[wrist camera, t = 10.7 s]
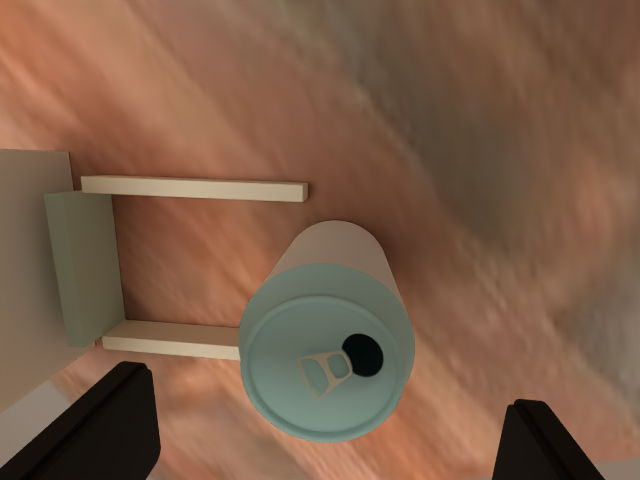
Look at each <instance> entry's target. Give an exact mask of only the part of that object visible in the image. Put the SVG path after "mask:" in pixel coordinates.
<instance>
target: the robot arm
mask: <svg viewBox="0 0 640 480" xmlns="http://www.w3.org/2000/svg"><path fill="white" fill-rule="evenodd" d="M160 450H161V445H160V436H159V428H158V420H157V411H156V403H155V395H154V386H153V378H152V372H151V370H149V369H147V366H146V365H145V364H144V363H138V362H128V361H123V362H120V363H119V364H117V365H116V366H115V367H114V368H113V369H112V370H111V371H109V372H108V373H107V374H106V375H105V376H104V377H103V378H102V379H100V380H99V381H98V382H97V383H96V384H95V385H94V386H93V387H91V388H90V389H89V390H88V391H87V392H86V393H85V394H84V395H82V396H81V397H80V398H79V399H78V400H77V401H76V402H75V403H73V404H72V405H71V406H70V407H69V408H68V409H67V410H66V411H64V412H63V413H62V414H61V415H60V416H59V417H58V418H57V419H55V420H54V421H53V422H52V423H51V424H50V425H49V426H48V427H46V428H45V429H44V430H43V431H42V432H41V433H40V434H38V435H37V436H36V437H35V438H34V439H33V440H32V441H31V442H30V443H28V444H27V445H26V446H25V447H24V448H23V449H22V450H20V451H19V452H18V453H17V454H16V455H15V456H14V457H13V458H11V459H10V460H9V461H8V462H7V463H6V464H5V465H3V466H2V467H1V468H0V480H146V478H147V477H148V475H149V474H150V472H151V470H152V469H153V467H154V466H155V464H156V462H157V461H158V458H159V455H160ZM492 480H605V479H604V478H603V477H602V475H601V474H600V473H599V472H598V470H597V469H596V467H595V466H594V465H593V464H592V462H591V461H590V460H589V458H588V457H587V456H586V454H585V453H584V452H583V450H582V449H581V448H580V447H579V445H578V444H577V443H576V441H575V440H574V439H573V437H572V436H571V435H570V433H569V432H568V431H567V430H566V428H565V427H564V426H563V424H562V423H561V422H560V420H559V419H558V418H557V416H556V415H555V414H554V413H553V411H552V410H551V409H550V407H549V406H548V405H547V404H546V403H545V402H543V401H536V400H526V399H517V400H516V401H515V402H514V405H512V404H511V405H509V406H508V407H507V411H506V415H505V420H504V425H503V430H502V434H501V439H500V444H499V448H498V453H497V458H496V462H495V467H494V472H493V477H492Z"/></svg>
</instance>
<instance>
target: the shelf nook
mask: <svg viewBox="0 0 640 480" xmlns="http://www.w3.org/2000/svg"><path fill="white" fill-rule="evenodd" d="M80 177H81V185H82V190H78V191H74V188H73V181H72V174H71V166H70V159H69V152H65V151H41V150H17V149H0V414H1V413H2V412H3V411H5V410H6V409H8V408H9V407H11V406H12V405H13V404H15V403H16V402H17V401H19V400H20V399H21V398H23V397H24V396H26V395H27V394H29V393H30V392H31V391H33V390H34V389H35V388H37V387H38V386H40V385H41V384H43V383H44V382H45V381H47V380H48V379H50V378H51V377H52V376H54V375H55V374H57V373H58V372H59V371H61V370H62V369H64V368H65V367H66V366H68V365H69V364H71V363H72V362H73V361H75V360H76V359H78V358H79V357H80V356H82V355H83V354H85V353H86V352H87V351H89V350H90V349H92V348H93V347H94V346H95V340H97V339H98V338H100V337H101V336H102V342H103V349H112V350H124V351H136V352H148V353H160V354H172V355H184V356H196V357H208V358H220V359H232V360H240V356H239V349H238V335H239V328H231V327H217V326H204V325H191V324H178V323H164V322H151V321H138V320H125V312H124V303H123V294H122V285H121V276H120V268H119V259H118V250H117V241H116V232H115V223H114V215H113V206H112V197H111V194H126V195H150V196H173V197H196V198H219V199H242V200H265V201H289V202H303V201H304V200H306V199H307V198H308V183H302V182H275V181H249V180H223V179H197V178H171V177H145V176H119V175H101V176H80Z"/></svg>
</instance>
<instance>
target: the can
mask: <svg viewBox="0 0 640 480" xmlns="http://www.w3.org/2000/svg"><path fill="white" fill-rule="evenodd" d="M238 349H239V356H240V360H241V364H240V365H241V376H242V381H243V385H244V388H245V390H246V393H247V395H248V397H249V399H250V400H251V402H252V404H253V405H254V406H255V408H256V409H257V410H258V411H259V413H260V414H261V415H262V416H263V417H264V418H265V419H266V420H267V421H269V422H270V423H271V424H273V425H274V426H275V427H277V428H278V429H280V430H282V431H284V432H286V433H288V434H290V435H292V436H295V437H298V438H301V439H304V440H308V441H314V442H329V443H331V442H341V441H347V440H351V439H354V438H357V437H360V436H362V435H365V434H367V433H369V432H370V431H372V430H374V429H375V428H377V427H378V426H379V425H381V424H382V423H383V422H384V421H385V420H386V419H387V418H388V417H389V416H390V415H391V413H392V412H393V411H394V409H395V408H396V406H397V404H398V402H399V400H400V398H401V395H402V392H403V388H404V386H405V384H406V382H407V380H408V378H409V376H410V373H411V370H412V366H413V361H414V355H415V339H414V332H413V328H412V325H411V322H410V319H409V316H408V314H407V311H406V309H405V306H404V303H403V301H402V298H401V296H400V293H399V290H398V288H397V285H396V282H395V280H394V277H393V275H392V272H391V269H390V267H389V264H388V262H387V259H386V256H385V254H384V251H383V249H382V247H381V246H380V244H379V243H378V241H377V240H376V239H375V238H374V237H373V236H372V235H371V234H370V233H369V232H368V231H366V230H365V229H363V228H362V227H360V226H358V225H356V224H353V223H350V222H346V221H338V220H332V221H324V222H320V223H317V224H314V225H312V226H310V227H308V228H307V229H305V230H304V231H302V232H301V233H300V234H299V235H298V236H297V237H296V238H295V239H294V240H293V242H292V243H291V245H290V246H289V247H288V249H287V250H286V251H285V253H284V254H283V255H282V257H281V258H280V260H279V261H278V262H277V264H276V265H275V266H274V268H273V269H272V270H271V272H270V273H269V275H268V276H267V277H266V279H265V280H264V281H263V283H262V284H261V285H260V287H259V288H258V290H257V291H256V292H255V294H254V295H253V296H252V298H251V299H250V301H249V302H248V304H247V306H246V308H245V310H244V313H243V315H242V318H241V322H240V327H239V335H238Z"/></svg>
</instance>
